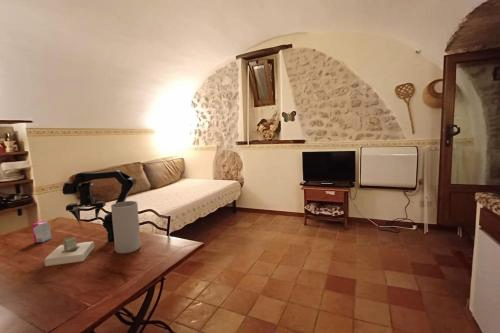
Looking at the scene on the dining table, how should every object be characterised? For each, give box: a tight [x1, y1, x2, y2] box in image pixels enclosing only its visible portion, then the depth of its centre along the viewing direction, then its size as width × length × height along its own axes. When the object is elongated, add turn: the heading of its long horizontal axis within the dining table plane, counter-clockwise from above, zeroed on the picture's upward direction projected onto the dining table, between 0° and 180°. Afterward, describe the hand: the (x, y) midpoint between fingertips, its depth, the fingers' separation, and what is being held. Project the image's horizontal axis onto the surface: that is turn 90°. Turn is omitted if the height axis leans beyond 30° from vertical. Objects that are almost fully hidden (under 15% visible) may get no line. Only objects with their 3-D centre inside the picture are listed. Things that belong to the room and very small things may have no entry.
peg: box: [62, 236, 77, 253], centre depth 129 cm, size 4×4×10 cm
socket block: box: [44, 241, 95, 267], centre depth 130 cm, size 16×16×4 cm
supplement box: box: [32, 220, 52, 244], centre depth 150 cm, size 6×6×12 cm
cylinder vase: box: [110, 200, 142, 255], centre depth 135 cm, size 12×12×25 cm
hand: (87, 220), depth 146 cm, fingers open, 9 cm apart
